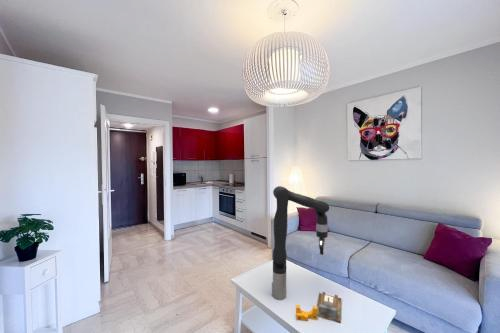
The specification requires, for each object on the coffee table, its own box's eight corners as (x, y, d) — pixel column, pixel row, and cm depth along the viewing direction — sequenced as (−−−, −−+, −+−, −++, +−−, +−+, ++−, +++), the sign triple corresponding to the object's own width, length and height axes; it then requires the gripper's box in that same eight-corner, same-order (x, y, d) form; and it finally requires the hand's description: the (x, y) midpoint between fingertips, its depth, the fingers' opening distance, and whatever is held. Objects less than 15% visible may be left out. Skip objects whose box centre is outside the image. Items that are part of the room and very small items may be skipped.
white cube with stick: (324, 310, 130) (324, 296, 130) (324, 304, 135) (324, 291, 135) (332, 312, 128) (332, 298, 128) (333, 306, 133) (333, 293, 133)
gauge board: (315, 315, 127) (315, 305, 127) (319, 294, 147) (319, 285, 147) (340, 323, 122) (340, 312, 121) (341, 300, 142) (341, 290, 141)
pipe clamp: (296, 320, 124) (296, 309, 124) (295, 315, 128) (296, 304, 128) (317, 322, 123) (318, 311, 122) (316, 316, 127) (316, 306, 127)
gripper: (317, 226, 157) (317, 249, 157) (315, 232, 145) (314, 257, 145) (328, 227, 154) (328, 251, 154) (326, 233, 142) (326, 259, 142)
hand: (321, 254), depth 150 cm, fingers closed
